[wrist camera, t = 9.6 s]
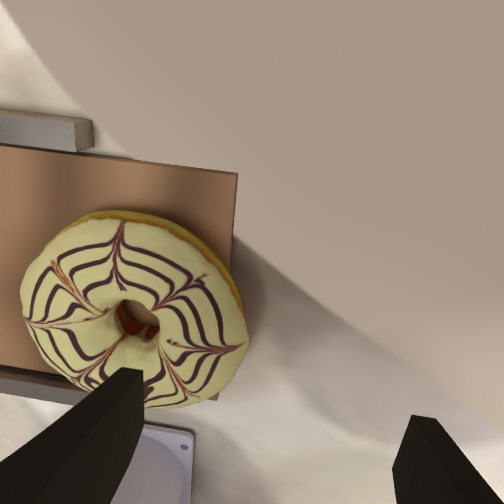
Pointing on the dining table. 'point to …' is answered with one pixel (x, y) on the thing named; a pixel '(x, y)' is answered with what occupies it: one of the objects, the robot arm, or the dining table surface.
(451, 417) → the dining table surface
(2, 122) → the rails
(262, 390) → the dining table surface
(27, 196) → the brown square board
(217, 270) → the decorated donut
